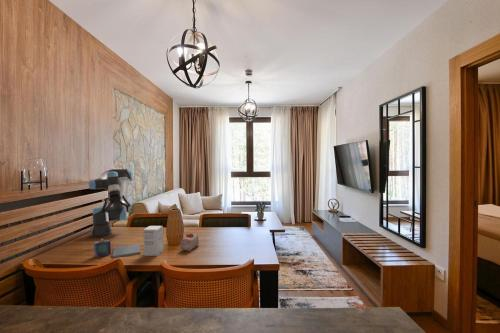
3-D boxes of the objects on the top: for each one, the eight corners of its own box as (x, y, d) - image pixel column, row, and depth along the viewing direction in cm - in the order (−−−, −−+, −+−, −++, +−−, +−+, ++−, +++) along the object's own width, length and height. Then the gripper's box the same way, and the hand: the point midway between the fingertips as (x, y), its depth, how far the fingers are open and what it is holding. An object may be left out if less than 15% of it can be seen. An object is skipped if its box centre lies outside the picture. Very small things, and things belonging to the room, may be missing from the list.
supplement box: (149, 250, 173) (149, 225, 172) (163, 250, 173) (163, 225, 172) (143, 256, 163) (142, 229, 163) (158, 255, 163) (157, 229, 163)
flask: (94, 257, 162) (93, 240, 162) (94, 255, 165) (94, 239, 165) (110, 254, 166) (110, 238, 166) (110, 253, 169) (110, 237, 169)
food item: (190, 252, 169) (190, 237, 169) (179, 251, 171) (179, 236, 171) (199, 245, 182) (199, 231, 182) (189, 244, 184) (189, 231, 184)
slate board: (114, 249, 177) (114, 247, 177) (139, 245, 184) (139, 243, 184) (112, 257, 161) (112, 256, 161) (140, 253, 167) (140, 251, 167)
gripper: (94, 194, 190) (96, 222, 184) (129, 186, 195) (133, 213, 188) (98, 196, 197) (101, 223, 191) (133, 188, 202) (136, 215, 195)
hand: (117, 218), depth 190 cm, fingers open, 13 cm apart
